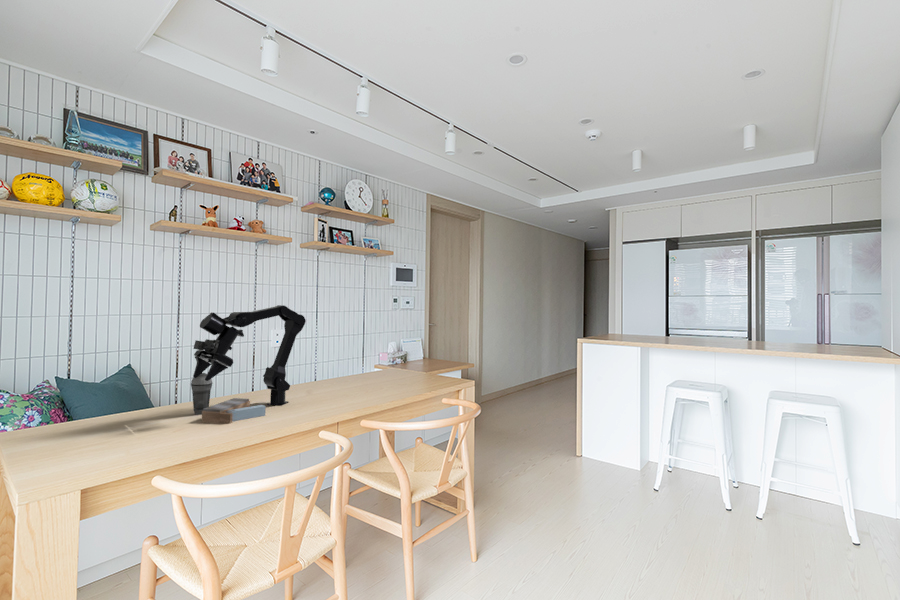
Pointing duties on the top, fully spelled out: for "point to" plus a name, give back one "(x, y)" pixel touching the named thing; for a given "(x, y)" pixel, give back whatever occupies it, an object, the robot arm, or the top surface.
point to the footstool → (223, 410)
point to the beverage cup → (201, 393)
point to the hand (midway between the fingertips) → (200, 378)
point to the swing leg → (247, 412)
